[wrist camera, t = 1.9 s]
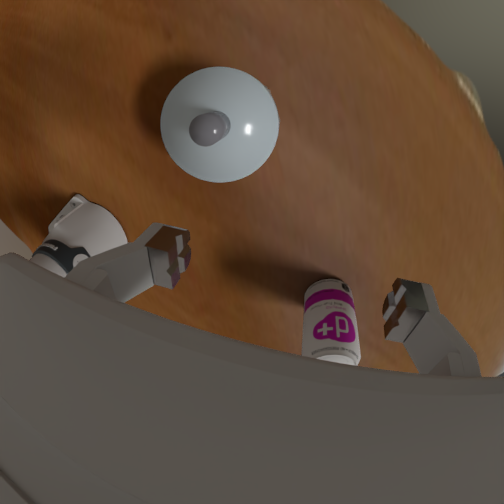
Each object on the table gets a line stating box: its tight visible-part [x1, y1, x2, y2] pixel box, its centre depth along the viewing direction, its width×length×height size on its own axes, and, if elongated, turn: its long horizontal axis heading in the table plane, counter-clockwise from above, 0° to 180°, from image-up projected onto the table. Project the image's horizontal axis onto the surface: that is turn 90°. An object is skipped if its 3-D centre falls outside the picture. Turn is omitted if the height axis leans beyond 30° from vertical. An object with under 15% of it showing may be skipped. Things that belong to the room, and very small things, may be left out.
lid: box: [160, 67, 279, 182], centre depth 25 cm, size 13×13×4 cm
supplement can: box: [301, 279, 361, 366], centre depth 39 cm, size 8×8×15 cm
